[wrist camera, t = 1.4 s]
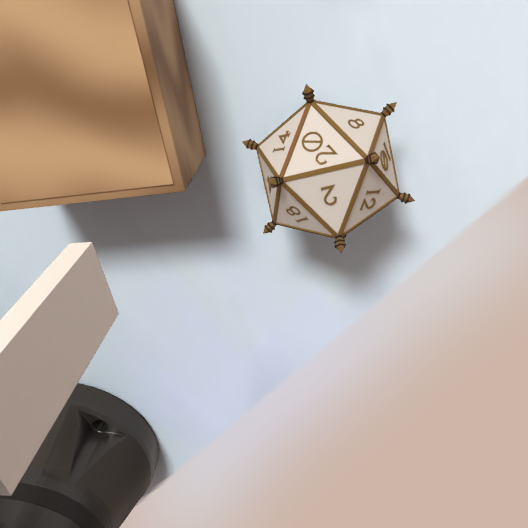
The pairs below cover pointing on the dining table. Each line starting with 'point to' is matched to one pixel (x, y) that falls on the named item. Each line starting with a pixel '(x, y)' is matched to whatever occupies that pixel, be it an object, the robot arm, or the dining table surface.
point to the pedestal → (93, 102)
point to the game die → (328, 168)
